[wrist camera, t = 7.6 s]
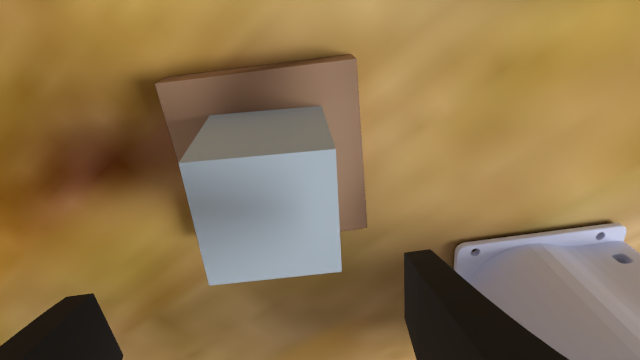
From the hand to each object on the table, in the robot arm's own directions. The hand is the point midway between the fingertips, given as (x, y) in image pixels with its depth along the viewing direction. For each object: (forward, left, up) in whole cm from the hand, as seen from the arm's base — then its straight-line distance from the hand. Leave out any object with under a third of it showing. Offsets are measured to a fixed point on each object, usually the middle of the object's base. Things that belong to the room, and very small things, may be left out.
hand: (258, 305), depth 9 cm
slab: (0, 0, -10) cm, 10 cm away
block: (0, 0, -8) cm, 9 cm away
